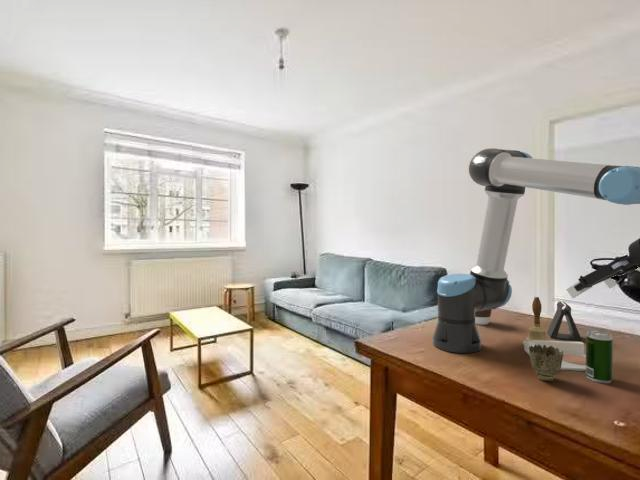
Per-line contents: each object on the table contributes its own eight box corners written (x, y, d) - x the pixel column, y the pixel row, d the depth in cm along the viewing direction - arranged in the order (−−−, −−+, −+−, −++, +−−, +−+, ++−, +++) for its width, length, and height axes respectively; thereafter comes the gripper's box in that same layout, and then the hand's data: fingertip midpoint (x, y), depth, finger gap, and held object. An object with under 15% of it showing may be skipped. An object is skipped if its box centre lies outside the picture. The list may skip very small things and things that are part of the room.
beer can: (601, 385, 86) (601, 337, 85) (580, 376, 91) (580, 331, 90) (618, 382, 87) (618, 335, 86) (596, 373, 92) (597, 329, 92)
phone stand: (576, 335, 122) (577, 302, 122) (581, 341, 117) (581, 306, 116) (546, 333, 126) (546, 300, 126) (550, 338, 121) (550, 304, 120)
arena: (543, 368, 96) (543, 356, 96) (524, 350, 110) (524, 339, 109) (609, 372, 93) (609, 359, 92) (581, 353, 106) (581, 341, 106)
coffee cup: (480, 328, 134) (480, 297, 134) (459, 321, 144) (459, 292, 144) (501, 324, 138) (501, 294, 138) (479, 317, 148) (479, 290, 148)
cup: (523, 372, 94) (523, 343, 93) (552, 373, 93) (552, 344, 92) (537, 385, 86) (538, 354, 86) (569, 386, 85) (569, 354, 85)
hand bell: (521, 346, 113) (521, 298, 113) (524, 339, 120) (524, 293, 119) (551, 351, 108) (551, 301, 108) (553, 343, 115) (553, 296, 114)
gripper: (630, 271, 75) (562, 310, 92) (708, 251, 81) (631, 291, 98) (606, 243, 79) (545, 285, 96) (682, 226, 85) (612, 268, 102)
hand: (588, 288), depth 97 cm, fingers open, 13 cm apart
